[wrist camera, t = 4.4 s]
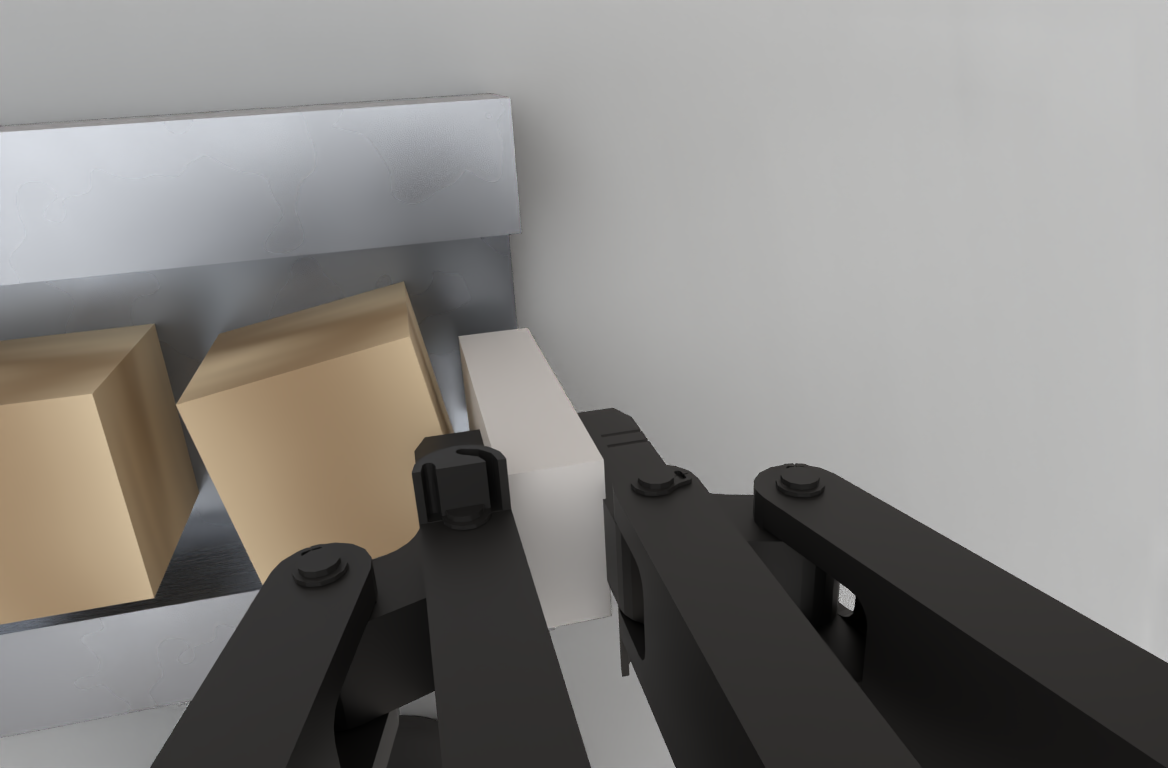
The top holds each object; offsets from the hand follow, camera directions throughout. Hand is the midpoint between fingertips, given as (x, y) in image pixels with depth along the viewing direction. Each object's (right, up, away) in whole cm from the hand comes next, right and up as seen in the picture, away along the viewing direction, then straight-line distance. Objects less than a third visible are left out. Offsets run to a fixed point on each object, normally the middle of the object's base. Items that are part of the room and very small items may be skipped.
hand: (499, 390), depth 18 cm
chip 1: (-9, -1, -1) cm, 9 cm away
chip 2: (-4, 0, 0) cm, 4 cm away
